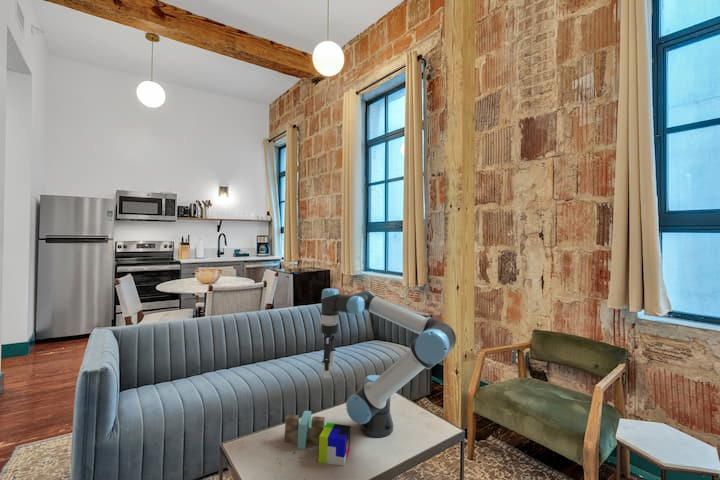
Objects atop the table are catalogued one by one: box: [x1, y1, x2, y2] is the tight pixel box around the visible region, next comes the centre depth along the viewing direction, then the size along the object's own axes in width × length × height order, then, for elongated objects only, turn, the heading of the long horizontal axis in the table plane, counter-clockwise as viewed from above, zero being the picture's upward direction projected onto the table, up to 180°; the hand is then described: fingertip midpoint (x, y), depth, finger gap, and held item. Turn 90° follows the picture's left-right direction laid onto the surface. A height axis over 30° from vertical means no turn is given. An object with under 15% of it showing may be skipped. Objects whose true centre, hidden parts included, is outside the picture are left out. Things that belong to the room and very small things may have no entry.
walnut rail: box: [284, 413, 326, 445], centre depth 146 cm, size 16×3×10 cm, turn 86°
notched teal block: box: [297, 410, 312, 450], centre depth 146 cm, size 11×3×10 cm, turn 176°
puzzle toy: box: [318, 422, 352, 467], centre depth 137 cm, size 10×10×10 cm
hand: (328, 371), depth 155 cm, fingers open, 13 cm apart
